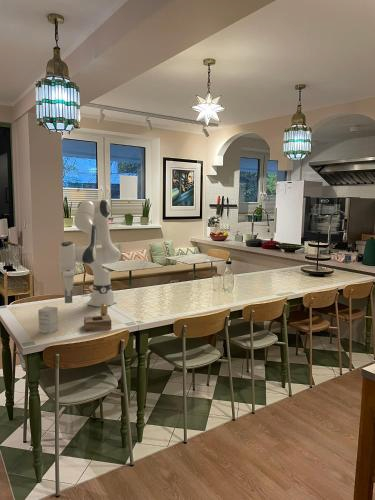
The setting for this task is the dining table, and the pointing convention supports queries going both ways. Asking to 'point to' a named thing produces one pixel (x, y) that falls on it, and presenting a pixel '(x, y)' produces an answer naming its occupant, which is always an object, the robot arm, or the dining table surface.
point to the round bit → (103, 309)
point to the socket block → (97, 323)
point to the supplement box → (48, 319)
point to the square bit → (68, 298)
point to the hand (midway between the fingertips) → (68, 294)
